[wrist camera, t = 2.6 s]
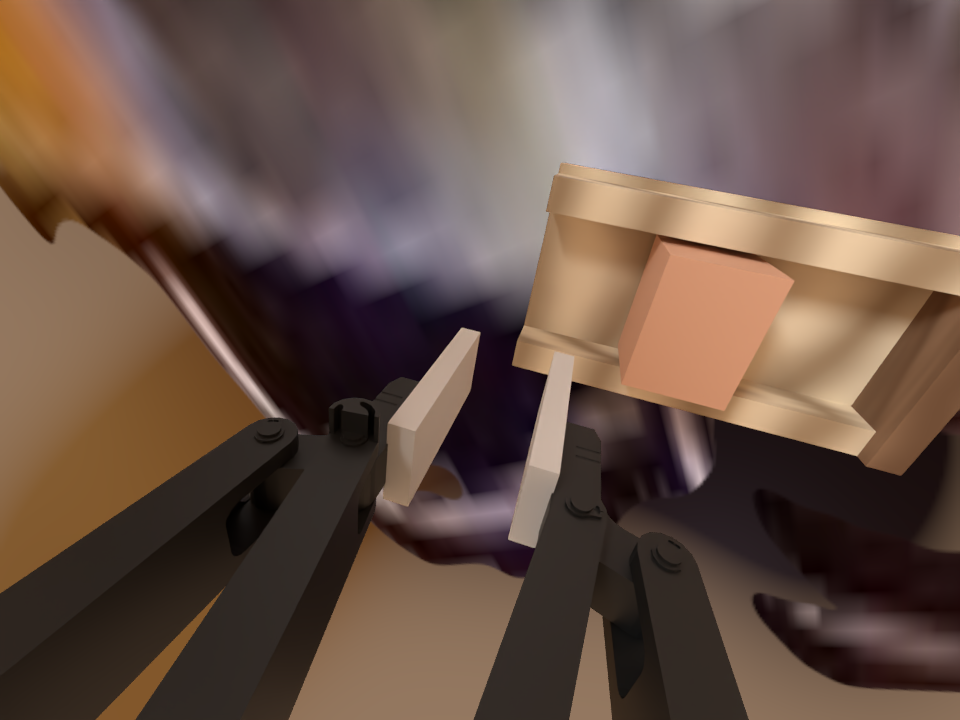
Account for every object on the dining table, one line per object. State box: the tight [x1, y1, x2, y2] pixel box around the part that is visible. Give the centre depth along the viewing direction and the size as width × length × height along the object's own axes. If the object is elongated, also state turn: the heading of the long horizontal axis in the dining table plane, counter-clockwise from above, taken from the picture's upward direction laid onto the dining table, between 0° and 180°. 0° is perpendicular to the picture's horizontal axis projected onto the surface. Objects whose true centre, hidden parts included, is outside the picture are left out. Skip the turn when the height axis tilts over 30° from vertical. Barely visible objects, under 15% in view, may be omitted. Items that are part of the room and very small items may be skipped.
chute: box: [512, 163, 960, 476], centre depth 27 cm, size 25×14×5 cm, turn 80°
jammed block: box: [618, 234, 794, 411], centre depth 26 cm, size 6×8×6 cm
